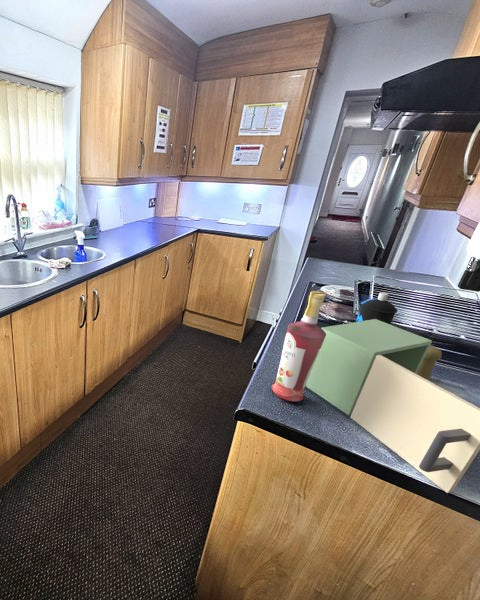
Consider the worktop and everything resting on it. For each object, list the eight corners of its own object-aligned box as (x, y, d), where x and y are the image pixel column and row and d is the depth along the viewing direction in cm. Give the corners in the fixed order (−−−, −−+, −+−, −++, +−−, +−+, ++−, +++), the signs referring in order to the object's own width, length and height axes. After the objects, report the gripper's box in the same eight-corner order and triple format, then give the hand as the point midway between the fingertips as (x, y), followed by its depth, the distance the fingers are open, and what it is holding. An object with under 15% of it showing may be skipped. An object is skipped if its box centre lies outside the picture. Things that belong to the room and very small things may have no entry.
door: (423, 497, 57) (468, 422, 51) (330, 419, 74) (355, 356, 68) (452, 492, 58) (500, 418, 51) (353, 417, 75) (380, 354, 69)
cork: (433, 390, 85) (452, 355, 80) (404, 386, 87) (422, 350, 82) (420, 377, 90) (437, 342, 86) (393, 372, 92) (408, 339, 88)
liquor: (310, 405, 79) (347, 299, 67) (280, 406, 78) (312, 300, 67) (291, 386, 85) (323, 286, 74) (263, 386, 85) (291, 287, 74)
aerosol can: (382, 354, 101) (408, 295, 93) (370, 362, 97) (396, 301, 89) (351, 343, 107) (373, 286, 99) (339, 349, 103) (360, 291, 95)
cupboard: (403, 400, 81) (432, 340, 75) (348, 415, 76) (374, 352, 69) (353, 373, 92) (375, 318, 85) (302, 384, 86) (321, 327, 80)
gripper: (560, 207, 57) (506, 303, 64) (526, 201, 68) (483, 284, 75) (495, 204, 61) (451, 294, 68) (473, 199, 72) (437, 277, 79)
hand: (468, 289), depth 72 cm, fingers closed
